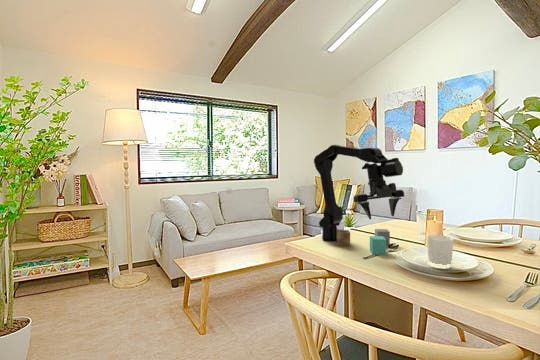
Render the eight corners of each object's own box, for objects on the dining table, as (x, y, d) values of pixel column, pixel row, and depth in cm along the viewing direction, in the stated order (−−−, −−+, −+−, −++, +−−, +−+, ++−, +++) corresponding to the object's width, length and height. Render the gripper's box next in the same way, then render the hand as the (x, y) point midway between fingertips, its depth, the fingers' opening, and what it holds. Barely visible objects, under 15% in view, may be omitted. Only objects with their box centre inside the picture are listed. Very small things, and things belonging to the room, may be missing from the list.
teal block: (372, 254, 121) (372, 239, 121) (369, 250, 126) (369, 236, 126) (385, 254, 121) (386, 239, 120) (382, 250, 126) (382, 236, 125)
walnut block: (338, 246, 132) (338, 232, 132) (336, 243, 137) (336, 230, 137) (350, 246, 132) (350, 232, 132) (348, 243, 137) (348, 230, 136)
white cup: (443, 272, 102) (444, 242, 101) (421, 265, 109) (422, 236, 108) (457, 268, 105) (458, 239, 105) (436, 261, 112) (436, 234, 112)
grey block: (377, 245, 134) (377, 231, 133) (374, 242, 139) (374, 229, 138) (389, 245, 133) (389, 231, 133) (386, 242, 138) (386, 229, 138)
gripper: (359, 180, 116) (365, 222, 115) (408, 174, 117) (414, 215, 116) (350, 182, 128) (356, 220, 127) (395, 176, 129) (400, 214, 128)
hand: (381, 217), depth 124 cm, fingers open, 9 cm apart
